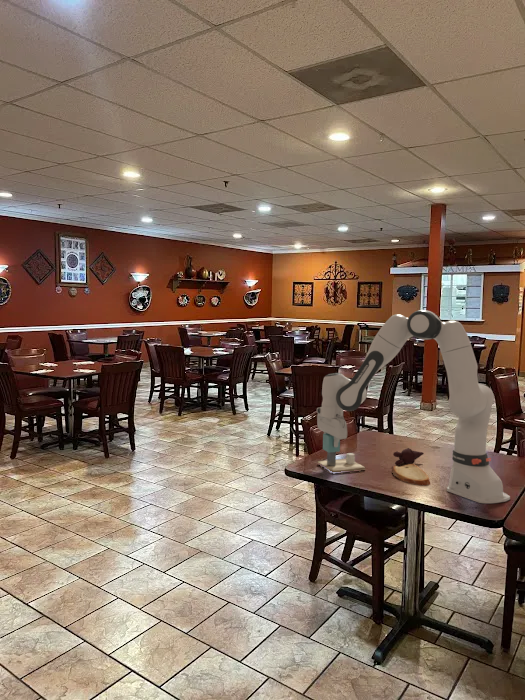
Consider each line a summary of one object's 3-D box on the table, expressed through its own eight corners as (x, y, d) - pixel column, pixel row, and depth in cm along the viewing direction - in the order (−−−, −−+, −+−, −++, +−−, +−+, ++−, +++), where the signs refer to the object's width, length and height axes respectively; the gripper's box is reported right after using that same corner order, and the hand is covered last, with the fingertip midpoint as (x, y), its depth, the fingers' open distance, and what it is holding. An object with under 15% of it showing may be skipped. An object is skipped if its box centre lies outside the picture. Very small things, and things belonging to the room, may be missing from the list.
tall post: (335, 465, 227) (335, 449, 226) (329, 466, 226) (330, 449, 225) (332, 464, 229) (332, 447, 229) (327, 464, 228) (327, 448, 228)
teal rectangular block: (339, 451, 226) (340, 435, 225) (328, 452, 224) (328, 436, 223) (333, 448, 230) (334, 432, 230) (322, 449, 229) (323, 433, 228)
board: (365, 470, 225) (365, 467, 225) (332, 474, 220) (332, 470, 220) (348, 461, 238) (348, 458, 238) (317, 464, 233) (317, 461, 233)
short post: (354, 463, 230) (354, 454, 230) (349, 464, 229) (349, 455, 229) (351, 462, 232) (351, 452, 232) (346, 462, 231) (346, 453, 231)
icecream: (416, 445, 243) (388, 451, 237) (427, 445, 236) (397, 451, 231) (420, 460, 242) (391, 467, 237) (430, 461, 235) (400, 467, 230)
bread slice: (427, 487, 206) (428, 478, 206) (382, 479, 216) (382, 469, 216) (440, 475, 221) (441, 466, 221) (397, 467, 231) (397, 459, 231)
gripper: (351, 416, 217) (350, 450, 218) (328, 407, 236) (327, 438, 237) (337, 417, 215) (336, 451, 216) (314, 407, 234) (314, 439, 235)
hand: (331, 444), depth 227 cm, fingers closed on teal rectangular block, 5 cm apart
